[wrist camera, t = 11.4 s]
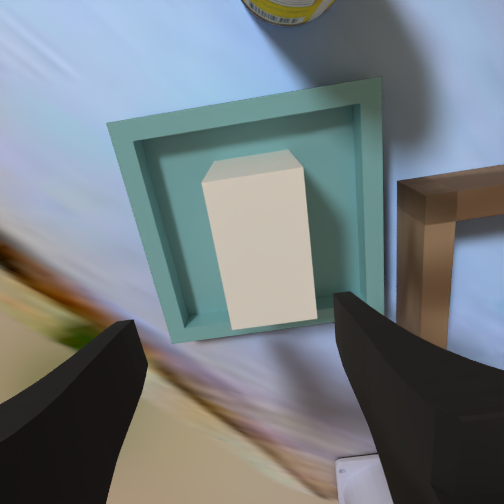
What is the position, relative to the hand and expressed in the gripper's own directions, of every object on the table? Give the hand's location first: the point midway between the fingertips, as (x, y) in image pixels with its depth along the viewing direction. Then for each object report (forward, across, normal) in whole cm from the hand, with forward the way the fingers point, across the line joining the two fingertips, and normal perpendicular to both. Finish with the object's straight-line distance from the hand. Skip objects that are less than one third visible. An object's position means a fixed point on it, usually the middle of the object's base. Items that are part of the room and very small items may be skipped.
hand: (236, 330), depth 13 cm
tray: (+9, -1, -1) cm, 9 cm away
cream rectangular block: (+9, -1, -1) cm, 9 cm away
